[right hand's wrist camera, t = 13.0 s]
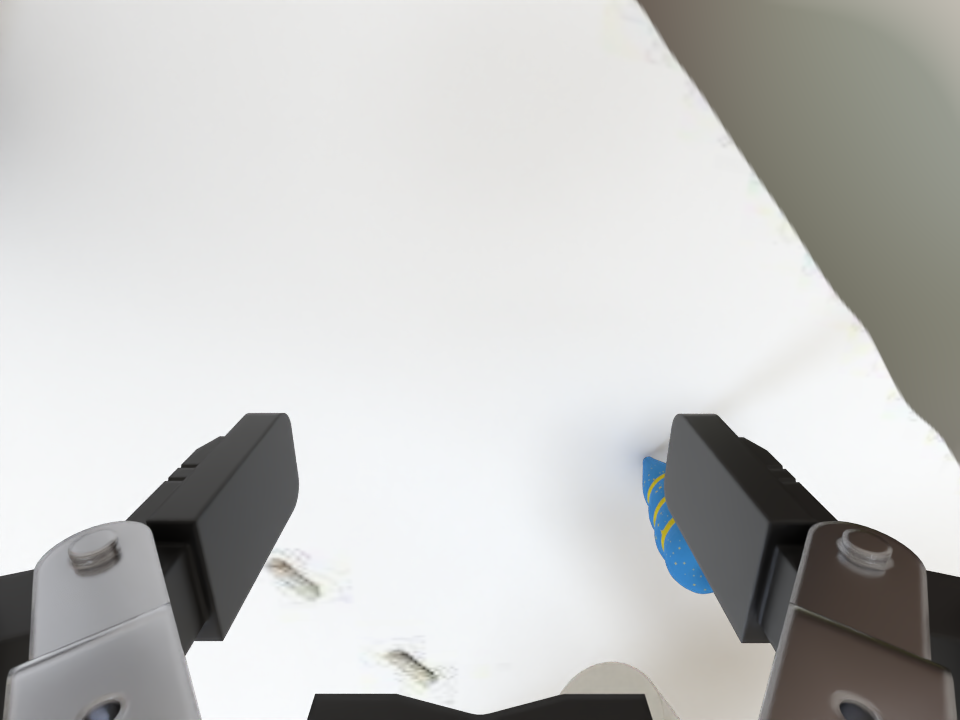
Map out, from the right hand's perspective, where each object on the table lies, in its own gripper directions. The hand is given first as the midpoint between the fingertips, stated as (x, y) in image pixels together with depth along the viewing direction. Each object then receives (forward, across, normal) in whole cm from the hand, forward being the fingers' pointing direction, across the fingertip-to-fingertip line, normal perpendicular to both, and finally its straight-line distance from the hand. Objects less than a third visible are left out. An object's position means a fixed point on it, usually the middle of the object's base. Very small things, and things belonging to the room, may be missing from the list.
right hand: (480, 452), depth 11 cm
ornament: (+29, -14, +18) cm, 37 cm away
